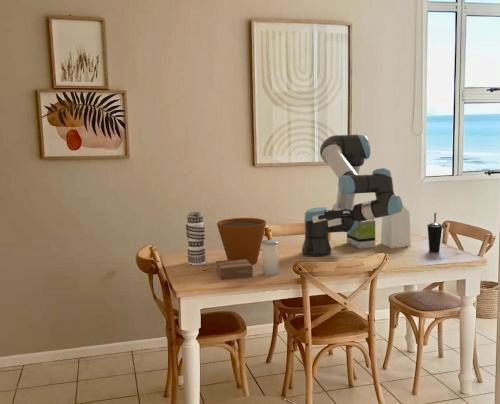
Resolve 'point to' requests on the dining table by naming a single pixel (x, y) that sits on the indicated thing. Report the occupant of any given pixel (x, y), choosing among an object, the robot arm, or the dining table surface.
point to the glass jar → (270, 257)
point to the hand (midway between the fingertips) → (320, 221)
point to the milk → (396, 229)
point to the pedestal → (234, 269)
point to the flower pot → (242, 238)
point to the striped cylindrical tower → (195, 238)
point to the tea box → (362, 235)
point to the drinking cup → (434, 236)
